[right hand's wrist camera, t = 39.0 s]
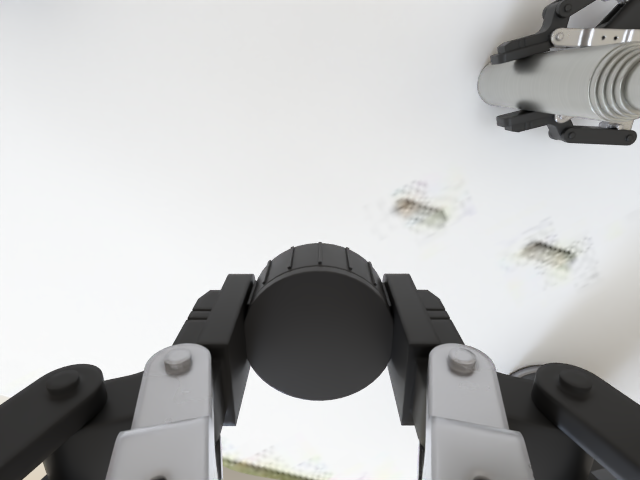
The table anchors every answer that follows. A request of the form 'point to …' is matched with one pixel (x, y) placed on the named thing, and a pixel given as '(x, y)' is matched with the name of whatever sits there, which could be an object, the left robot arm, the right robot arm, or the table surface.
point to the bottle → (569, 82)
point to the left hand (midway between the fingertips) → (498, 92)
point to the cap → (318, 323)
